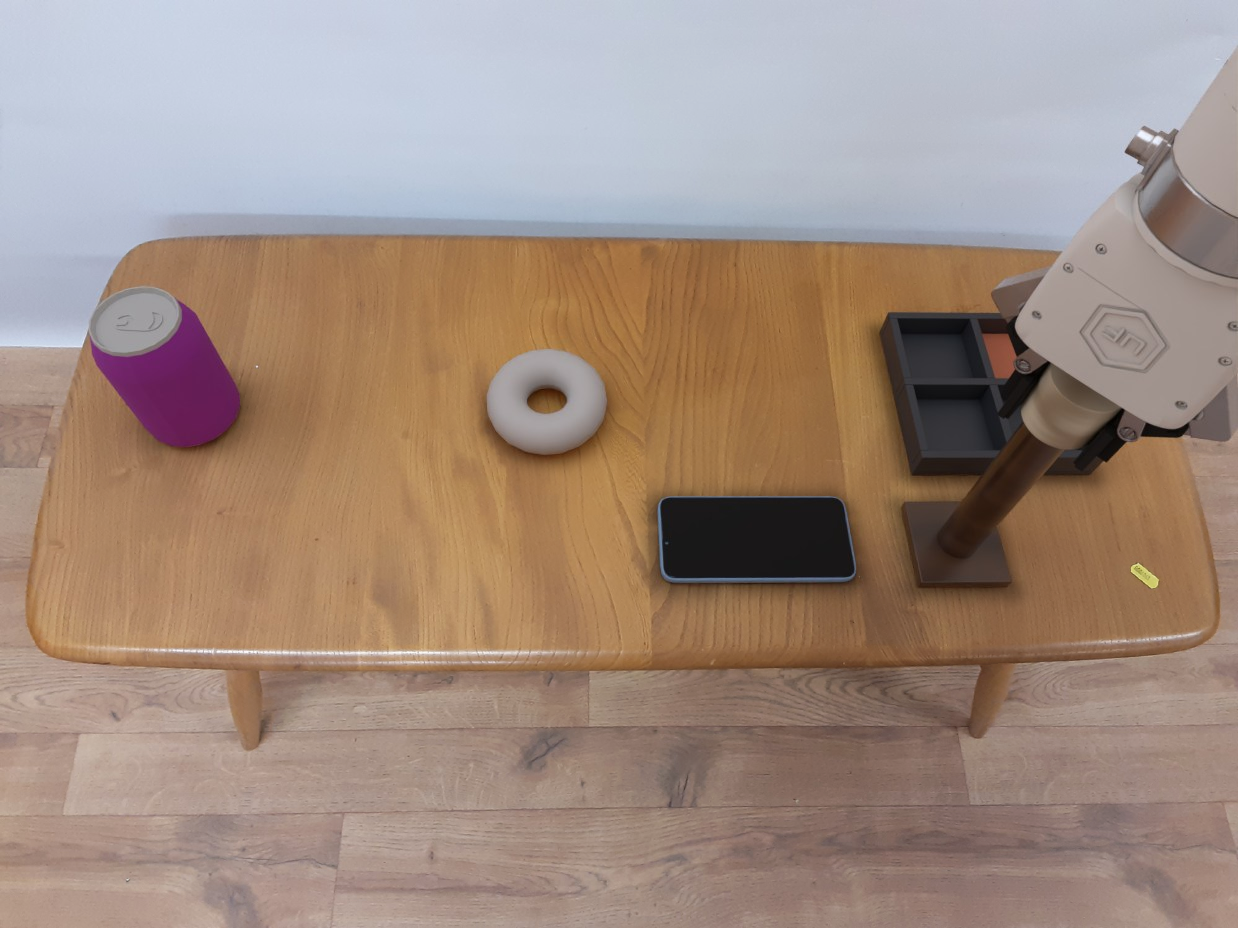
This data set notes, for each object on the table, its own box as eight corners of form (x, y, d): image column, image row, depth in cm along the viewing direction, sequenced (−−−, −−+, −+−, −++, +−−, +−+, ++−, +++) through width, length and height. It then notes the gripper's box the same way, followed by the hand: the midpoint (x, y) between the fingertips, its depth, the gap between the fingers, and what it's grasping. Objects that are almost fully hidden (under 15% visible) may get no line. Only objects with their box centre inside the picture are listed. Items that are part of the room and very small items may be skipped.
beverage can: (140, 456, 71) (65, 364, 61) (156, 378, 75) (89, 280, 65) (238, 450, 72) (181, 358, 61) (249, 374, 76) (197, 276, 65)
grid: (1090, 475, 73) (1107, 457, 71) (911, 475, 73) (922, 457, 70) (1041, 333, 81) (1055, 312, 79) (878, 332, 80) (888, 311, 78)
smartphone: (859, 578, 67) (661, 580, 66) (856, 583, 67) (660, 585, 67) (844, 493, 70) (657, 493, 70) (841, 498, 71) (656, 498, 70)
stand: (1007, 587, 68) (1132, 466, 52) (917, 587, 68) (1016, 467, 52) (985, 506, 71) (1096, 372, 56) (900, 507, 71) (988, 371, 56)
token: (1110, 419, 54) (1146, 380, 51) (1073, 463, 52) (1107, 426, 49) (1044, 375, 56) (1075, 334, 52) (1006, 417, 54) (1034, 378, 50)
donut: (483, 462, 72) (606, 464, 72) (478, 439, 69) (606, 441, 69) (493, 364, 77) (608, 366, 77) (489, 338, 74) (608, 341, 74)
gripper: (1025, 151, 41) (902, 385, 56) (1399, 358, 35) (1147, 555, 51) (1102, 80, 44) (965, 322, 59) (1458, 260, 38) (1203, 475, 54)
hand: (1051, 427), depth 55 cm, fingers closed on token, 4 cm apart
